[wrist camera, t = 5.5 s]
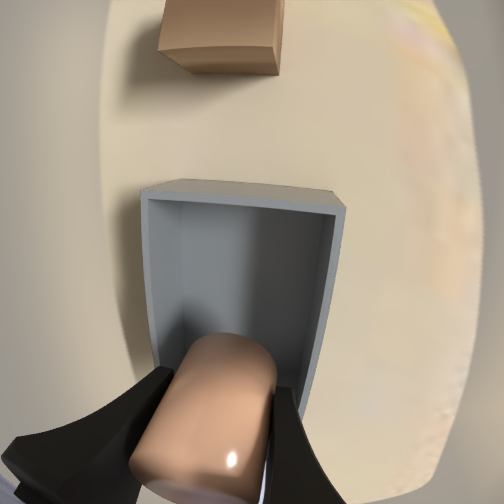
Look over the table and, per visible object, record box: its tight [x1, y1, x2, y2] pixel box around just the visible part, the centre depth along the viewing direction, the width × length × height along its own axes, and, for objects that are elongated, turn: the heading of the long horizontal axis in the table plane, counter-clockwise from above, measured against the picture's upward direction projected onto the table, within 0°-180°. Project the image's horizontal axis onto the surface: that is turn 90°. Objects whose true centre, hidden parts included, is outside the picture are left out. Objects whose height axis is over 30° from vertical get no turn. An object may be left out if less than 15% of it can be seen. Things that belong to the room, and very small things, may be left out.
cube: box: [158, 0, 285, 75], centre depth 10 cm, size 4×4×4 cm
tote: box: [141, 179, 346, 422], centre depth 13 cm, size 10×7×4 cm
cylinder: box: [129, 333, 277, 504], centre depth 10 cm, size 4×4×6 cm
